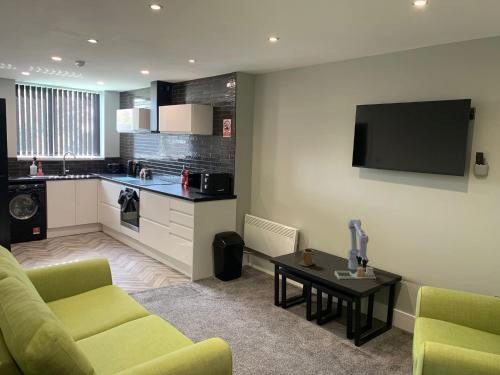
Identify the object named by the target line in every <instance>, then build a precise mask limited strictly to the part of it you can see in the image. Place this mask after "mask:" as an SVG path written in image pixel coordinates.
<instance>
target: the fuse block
mask: <svg viewBox="0 0 500 375" xmlns="http://www.w3.org/2000/svg"><path fill="white" fill-rule="evenodd" d="M352 274H353V275H354V277H355V279H377V277H376V276H375V273H374V272H373V276H368V277H367V274H366V271H364V276H359V277H358V273H357V271H355V272H354V273H352Z"/></svg>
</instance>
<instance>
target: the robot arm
mask: <svg viewBox="0 0 500 375" xmlns="http://www.w3.org/2000/svg"><path fill="white" fill-rule="evenodd" d="M347 226H348V230H349V231H350V247H351V248H350V249H349V250H348V252H347V253H348V254H347V258H348V266H347V267H346V268H348V269H349V270H351V271H357V267H359V265H362V267H363V268H364V269H366V267H367V265H368V263H369V261H370V260H369V258H368V257H367V256H368V255H367V248H368V247H367V245H368V243H369V236H368V235H366V234H365V231H364V230H363V229H362V227H361V226H362V221H361V219H349V220H348V222H347ZM357 237H358V239H357ZM357 240H358V242H357ZM358 244H359V249H358Z"/></svg>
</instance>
